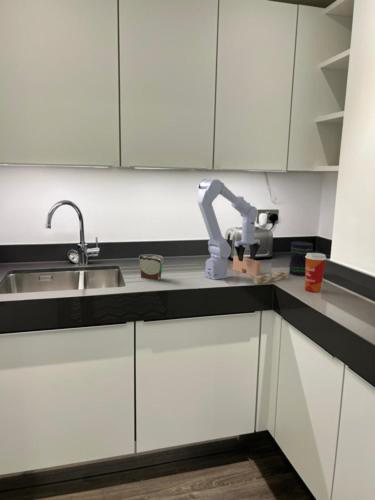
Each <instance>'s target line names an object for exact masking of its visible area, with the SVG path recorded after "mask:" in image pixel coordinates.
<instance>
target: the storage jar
mask: <svg viewBox="0 0 375 500" xmlns="http://www.w3.org/2000/svg"><path fill="white" fill-rule="evenodd" d="M313 246H314V243H312V242H309V241H308V242H307V241H299V240H298V241H297V240H296V241H292V242H291V245H290V261H289V269H288V270H289V271H288V275H289V274H290V276H291V275H292V276H296V277H305V271H306V258H305V256H306V254H307V253H313Z"/></svg>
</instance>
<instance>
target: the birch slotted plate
mask: <svg viewBox="0 0 375 500" xmlns="http://www.w3.org/2000/svg"><path fill="white" fill-rule="evenodd" d="M252 279H253V281H252V283H253V284H254V285H260V284H261V285H262V284H266V283H271V282H276V281H280V280H287V279H289V271H286V270H283V271H282V270H281V271H278V272H272V273H271V274H269V273H266V274H260V275H259V276H253V278H252Z"/></svg>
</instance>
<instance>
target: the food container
mask: <svg viewBox="0 0 375 500" xmlns="http://www.w3.org/2000/svg"><path fill="white" fill-rule="evenodd" d="M138 261H139V271H140V272H139V273H140V279H145V280H149V281H155V282H160V281H161V279H162V268H163V264H164V262H165V261H164V257H163V256H162V255H159V254H151V253H150V254H149V253H147V254H139V256H138Z"/></svg>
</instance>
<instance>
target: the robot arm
mask: <svg viewBox="0 0 375 500" xmlns="http://www.w3.org/2000/svg"><path fill="white" fill-rule="evenodd" d="M196 189H197V192H198V194H197V195H198V196H197V203H198V207H199V211H200V213H201V215H202V216H201V217H202V218H203V219H202V220H203V223H204V225H205V227H206V230H207V234H208V237H209V239H208V241H207V244H208V252H209V254H210V258H207V259H206V260H205V267H204V270H205V271H204V272H205V273H204V275H203V276H204V277H206V278H209V279H211V280H215V281H216V280H220V279H221V280H222V279H228V278H231V275H229V274H228V273H227V271H228V259H229V257H230V256H231V254H232V248H231V246H230V245H229V243H228V242H227V239H226V238H225V237H224V236H223V235H222V231H221V228H220V225H219V223H218V219H217V216H216V213H215V210H214V206H213V202H214V201H215V199H216V198H217V197H218V196H221V197H223V198H224V199H226V200H227V201H229V202H231V206H232V207H233V209H234V210H236V211H237V212H238V213H239V214H240V216H241V218H242V221H241V223H242V226H241V240H237V241H234V249H235V251H236V255H238V259H239V261H243V257H245V256H244V255H245V251H246V247H245V246H248V247H249V259H253V260H256V255H257V253H258V251H259V249H260V248H261V240H260V239H255V227H256V226H255V225H256V221H257V218H258V216H259V212H258V209H257V207H256V206H255V205H254V206H253V205H251V203H250V202H248V201H246V200H245V199H244V198H245V197H244V196H241V195H235V194H234V193H233V192H232V191H231V190H230V189H229V188H228V187H227V186H226V185H225V183H224V182H222V181H221V180H220V179H216V178H215V179H210V178H209V179H207V178H203V179H201V180H200V181H199V183H198V185H197V187H196Z"/></svg>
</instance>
